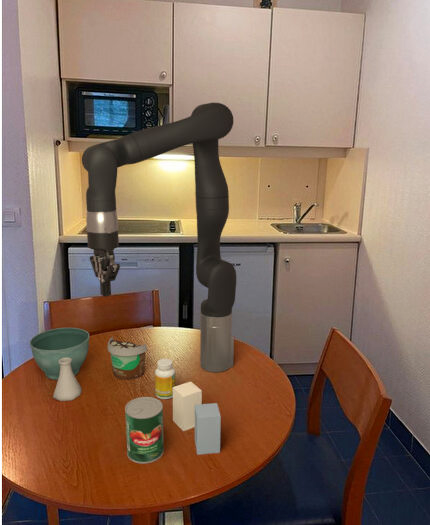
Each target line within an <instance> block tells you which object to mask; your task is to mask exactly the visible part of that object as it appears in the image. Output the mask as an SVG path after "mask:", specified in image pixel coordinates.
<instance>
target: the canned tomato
mask: <svg viewBox="0 0 430 525" xmlns="http://www.w3.org/2000/svg"><path fill="white" fill-rule="evenodd" d="M163 406H164V405H163V402H162V401H161V400H159V398H158V399H157V398H155V397H152V396H141V397H136V398H133V399H132V400H129V402H127V403H126V404H125V407H124V411H125V431H126V432H125V434H126V435H125V436H126V454H127V455H126V456H127V457H128V459H129V460H130V461H132V462H134V463H136V464H142V465H143V464H150V463H153V462H156V461H158V460H159V459H160V458H162V457H163V454H164V451H165V450H164V449H165V448H164V410H163V409H164V407H163Z"/></svg>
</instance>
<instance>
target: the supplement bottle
mask: <svg viewBox="0 0 430 525" xmlns="http://www.w3.org/2000/svg"><path fill="white" fill-rule="evenodd" d="M173 363H174V362H173V360H172V359H171V358H161V359H159V360H158V361H157V362H156V366H157V368H156V369H155V370H154V380H155V381H154V382H155V383H154V384H155V385H154V387H155V389H154V390H155V396H156V397H157V398H158V399H160V400H169V399H173V387H175V386H176V370H175V367H173V365H174V364H173Z"/></svg>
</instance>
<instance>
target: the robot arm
mask: <svg viewBox="0 0 430 525" xmlns="http://www.w3.org/2000/svg"><path fill="white" fill-rule="evenodd" d="M233 126H234V115H233V112H232V110H231V109H230V108H229V107H228V106H227V105H225V104H223V103H220V102H210V103H209V102H208V103H202V104H199V105H198V106H196V107H195V108H194V109H193V110H192V112H191V115H190V116H187V117H185V118H182V119H180V120H176V121H173V122H168V123H163V124H160V125H155V126H152V127H147V128H144V129H141V130H138V131H135V132H132V133H129V134H126V135H124V136H121V137H120V138H116V139H113V140H109V141H108V140H107V141H104V142H100V143H97V144H94V145H91V146H89V147H87V148H86V149H85V150H84V151H83V153H82V156H81V164H82V167H83V169H85V171H86V172H87V179H88V180H87V182H88V187H87V188H86V193H85V198H86V199H85V201H86V202H85V203H86V236H87V247H88V249H90V250H93V255H91V256H90V255H89V261H90V263H91V268H92V270H93V273H94V276H95V277H96V278H97V279H98V282H99V287H100V289H99V290H100V295H101V296H103V297H109V296H111V295H112V287H111V285H112V284H111V282H112V281H113V282H114V281H116V278H117V277H118V274H119V272H120V268H121V265H120V263H116V261H115V260H116V256H115V252H114V250H115V249H117V248H118V247H119V245H120V243H119V241H120V240H119V219H118V213H117V199H116V198H117V197H116V188H117V179H118V168H120V167H123V166H127V165H134V164H139V163H141V162H144V161H147V160H150V159H152V158H155V157H157V156H160V155H163V154H165V153H168V152H171V151H173V150H175V149H178V148H182V147H185V146H188V145H191V144H192V151H193V158H194V160H193V161H194V183H195V184H194V185H195V186H194V187H195V189H194V190H195V192H194V194H195V195H194V196H195V211H196V212H195V213H196V233H197V238H196V239H197V247H196V248H197V250H196V264H195V265H196V266H195V273H196V278H197V280H198V282H199V283H200V284H201V285H202V286H203V287H205V288H207V289H208V290H207V298H206V299H204V300H203V301H201V303H200V346H199V347H200V351H199V352H200V355H199V356H200V357H199V361H200V362H199V363H200V368H201V369H203V370H204V371H206V372H209V373H221V372H225V371H227V370H228V369H230V368H233V367H234V357H235V356H234V350H235V348H234V346H235V344H234V343H235V336H233V335H232V325H233V324H232V323H233V322H232V318H233V307H234V305H235V302H236V291H237V290H236V289H237V272H236V268H235V267H234V264H232V263H231V262H229V261H226V260H224V259H222V256H221V237H222V233H223V230H224V228H225V227H226V224H227V220H228V219H229V214H230V202H229V201H230V194H229V186H228V183H227V178H226V177H225V173H224V170H223V168H222V167H223V166H222V165H221V160H220V155H219V152H220V151H219V140H220V139H223V138H224V137H226V136H227V135H228V134H229V133H231V131H232V129H233Z"/></svg>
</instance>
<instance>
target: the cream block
mask: <svg viewBox="0 0 430 525" xmlns="http://www.w3.org/2000/svg"><path fill="white" fill-rule="evenodd" d="M202 392H203V391H202V389H201V388H199V387H198V386H197V385H196V384H194V383H193V382H192V381H189V382H184V383H182V384H179V385H175V387H173V397H172V421H173V422H174V423H175V424H176V425H177V427H179V428H180V430H182V432H185V431H188V430H191V429H194V428H195V405H198V404H203V403H202V401H203V400H202V398H203V397H202V395H203V393H202Z"/></svg>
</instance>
